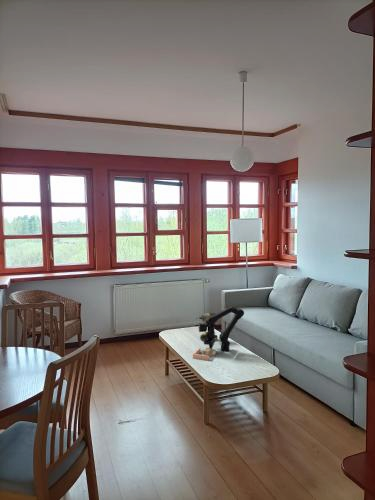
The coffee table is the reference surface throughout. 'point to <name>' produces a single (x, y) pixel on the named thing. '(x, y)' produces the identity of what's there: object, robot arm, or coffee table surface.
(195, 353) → the block
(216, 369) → the coffee table surface
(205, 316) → the cordless drill
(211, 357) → the slate mat
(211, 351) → the t block
